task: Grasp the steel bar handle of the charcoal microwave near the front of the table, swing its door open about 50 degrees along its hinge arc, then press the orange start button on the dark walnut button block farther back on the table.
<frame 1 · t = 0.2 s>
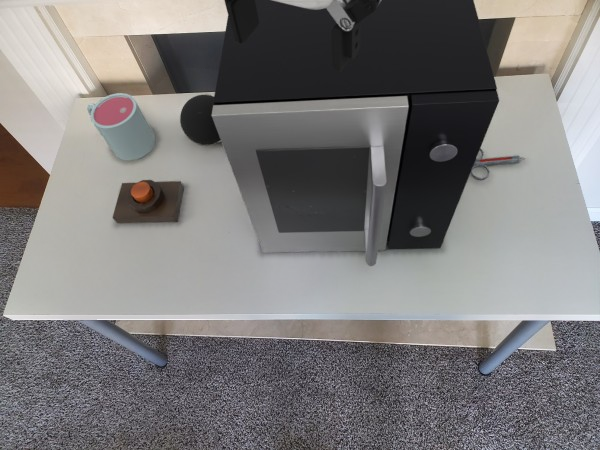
hand: (294, 46, 39), 45 cm above the table, tool pointing down, fingers open, 9 cm apart
microwave: (347, 178, 86), on the table
microwave door: (317, 210, 62), point 17 cm above the table, hinge at 0.0°
speaker: (212, 137, 95), on the table
button block: (151, 205, 87), on the table
start button: (142, 192, 83), point 5 cm above the table, slide at 0.2 cm
syringe: (483, 165, 85), on the table
mug: (127, 140, 96), on the table
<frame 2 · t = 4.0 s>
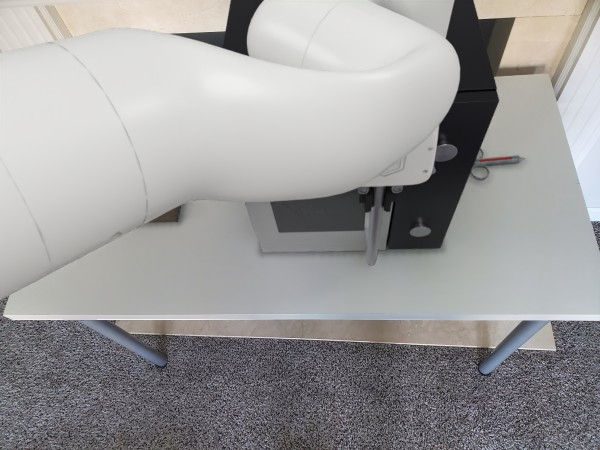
hand: (376, 202, 56), 23 cm above the table, tool pointing down, fingers closed, pressing on microwave door
microwave door: (317, 210, 62), point 17 cm above the table, hinge at -0.2°, touching gripper
everything else where it was.
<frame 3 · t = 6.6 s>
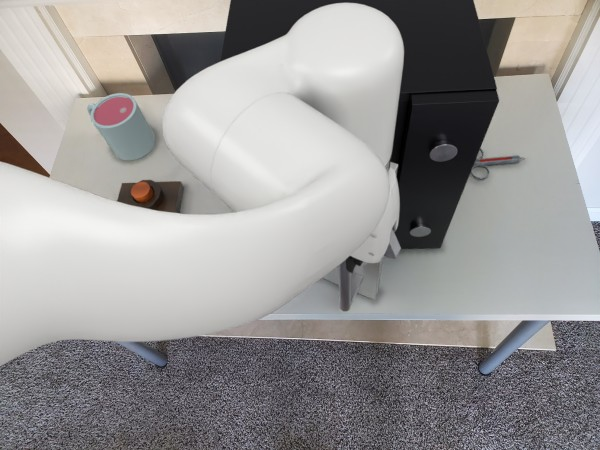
hand: (345, 256, 52), 23 cm above the table, tool pointing down, fingers closed, pressing on microwave door
microwave door: (300, 237, 60), point 17 cm above the table, hinge at 25.0°, touching gripper
everything else where it was.
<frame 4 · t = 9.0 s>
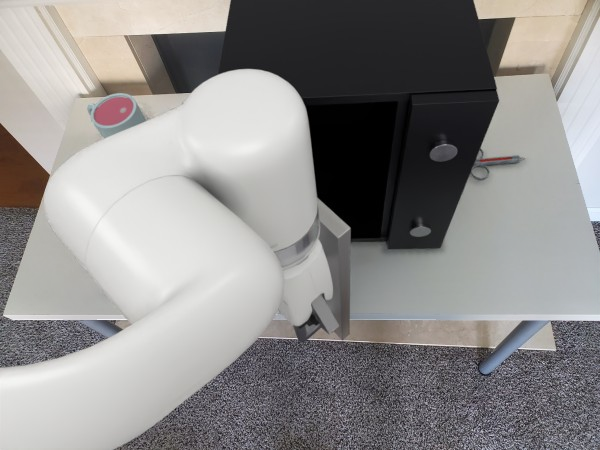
hand: (294, 301, 50), 23 cm above the table, tool pointing down, fingers open, 4 cm apart
microwave door: (274, 256, 59), point 17 cm above the table, hinge at 48.0°
everything else where it was.
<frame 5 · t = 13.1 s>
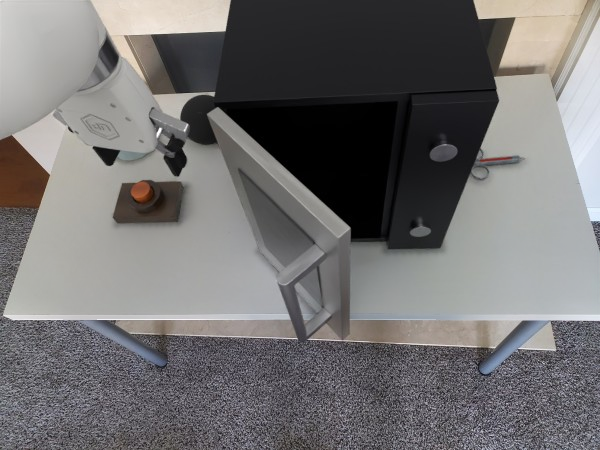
hand: (147, 162, 58), 26 cm above the table, tool pointing down, fingers open, 9 cm apart
nothing on the table moved.
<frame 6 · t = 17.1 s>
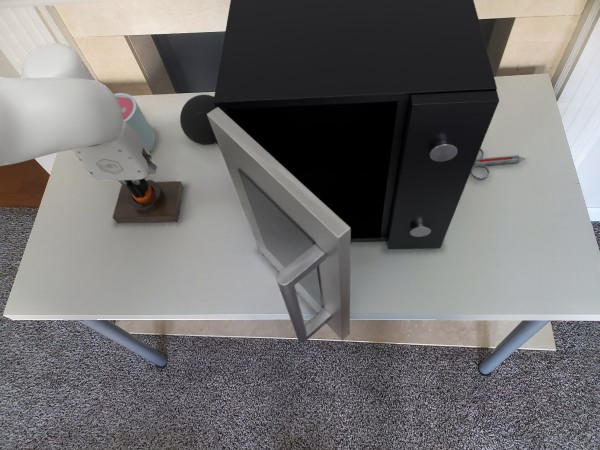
hand: (141, 190, 83), 5 cm above the table, tool pointing down, fingers closed
start button: (143, 194, 84), point 4 cm above the table, slide at -0.5 cm, touching gripper
everything else where it was.
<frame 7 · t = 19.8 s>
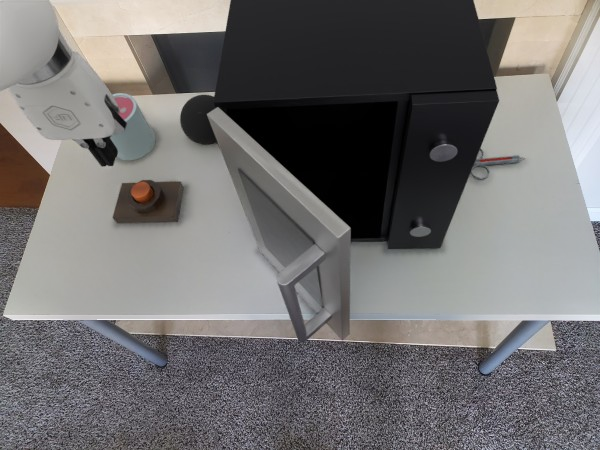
hand: (110, 158, 65), 21 cm above the table, tool pointing down, fingers closed
start button: (142, 192, 83), point 5 cm above the table, slide at 0.1 cm
everything else where it was.
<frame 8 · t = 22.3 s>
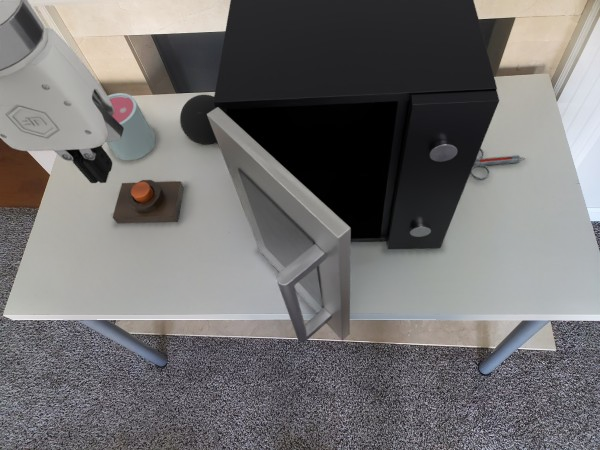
hand: (102, 172, 50), 32 cm above the table, tool pointing down, fingers closed
nothing on the table moved.
at the end: microwave door at +48° (first picture: +0°); start button pushed in 1.1 cm at the most during the clip, back to where it started at the end; start button slide at 0.1 cm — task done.
